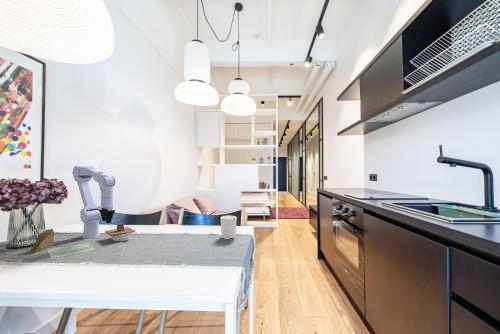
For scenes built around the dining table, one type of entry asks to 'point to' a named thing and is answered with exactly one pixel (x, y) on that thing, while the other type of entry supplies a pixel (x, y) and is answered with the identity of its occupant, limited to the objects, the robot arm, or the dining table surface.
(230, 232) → the candle holder
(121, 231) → the lid
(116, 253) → the dining table surface
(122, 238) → the ramekin
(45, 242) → the rock
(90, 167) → the robot arm
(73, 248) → the mat
